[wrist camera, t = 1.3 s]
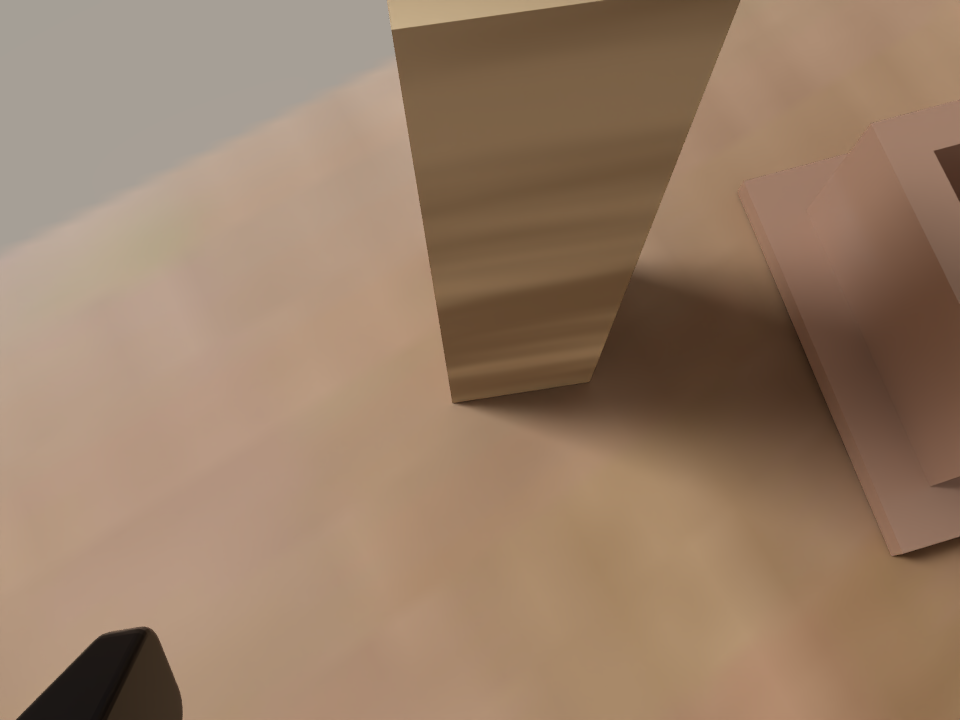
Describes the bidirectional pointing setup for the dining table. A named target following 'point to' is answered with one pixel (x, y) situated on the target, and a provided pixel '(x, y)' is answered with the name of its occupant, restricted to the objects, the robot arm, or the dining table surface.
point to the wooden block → (543, 167)
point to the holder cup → (880, 308)
